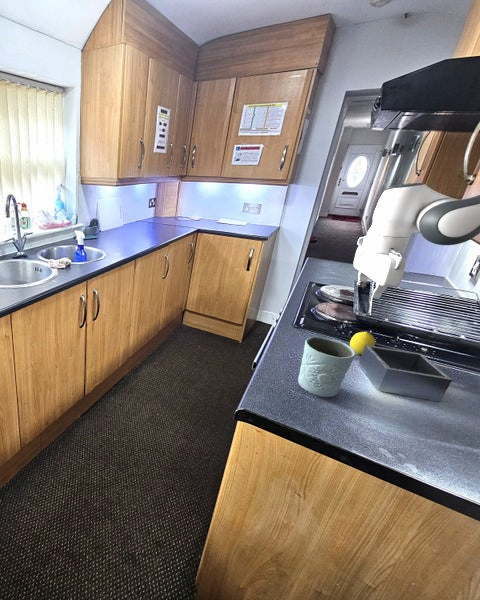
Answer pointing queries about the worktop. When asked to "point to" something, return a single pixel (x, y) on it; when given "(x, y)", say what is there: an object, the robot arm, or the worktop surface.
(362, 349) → the lemon
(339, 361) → the pale green embossed cup
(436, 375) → the open grey rectangular container
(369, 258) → the robot arm
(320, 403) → the worktop surface
